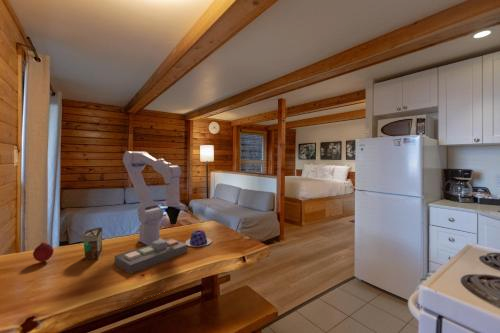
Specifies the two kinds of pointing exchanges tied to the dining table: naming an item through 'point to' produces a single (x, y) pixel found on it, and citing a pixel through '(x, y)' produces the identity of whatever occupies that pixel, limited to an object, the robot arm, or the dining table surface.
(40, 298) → the dining table surface
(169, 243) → the key terracotta
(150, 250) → the key sage
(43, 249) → the onion
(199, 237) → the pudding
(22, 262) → the dining table surface
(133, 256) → the key ivory
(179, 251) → the keypad board
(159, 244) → the key slate
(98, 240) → the food container
